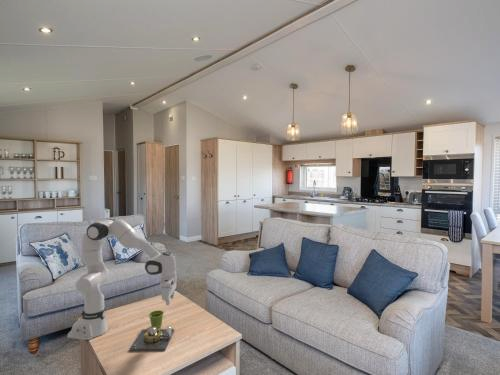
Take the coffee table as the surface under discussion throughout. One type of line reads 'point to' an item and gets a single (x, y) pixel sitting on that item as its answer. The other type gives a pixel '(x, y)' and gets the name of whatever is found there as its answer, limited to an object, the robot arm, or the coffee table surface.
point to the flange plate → (151, 346)
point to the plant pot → (156, 318)
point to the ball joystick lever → (157, 335)
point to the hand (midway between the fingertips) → (170, 301)
